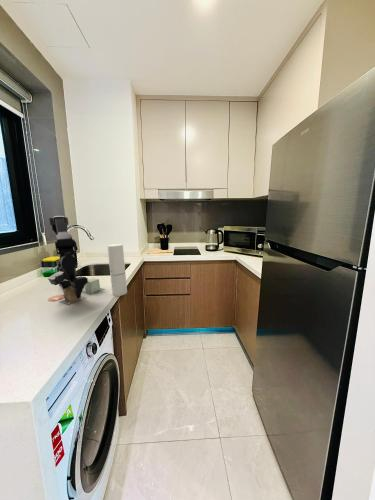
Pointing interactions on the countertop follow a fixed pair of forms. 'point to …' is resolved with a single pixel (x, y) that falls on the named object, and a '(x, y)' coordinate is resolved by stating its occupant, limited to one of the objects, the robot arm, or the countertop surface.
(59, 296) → the coaster
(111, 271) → the tall white block
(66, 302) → the tile
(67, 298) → the walnut block
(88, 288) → the sage block
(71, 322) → the countertop surface
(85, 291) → the code tile
